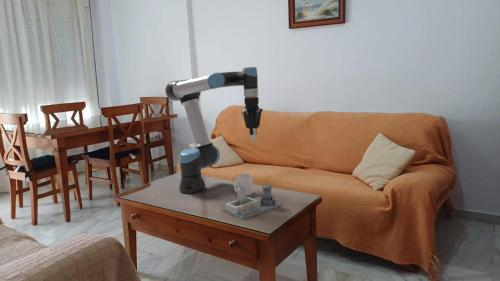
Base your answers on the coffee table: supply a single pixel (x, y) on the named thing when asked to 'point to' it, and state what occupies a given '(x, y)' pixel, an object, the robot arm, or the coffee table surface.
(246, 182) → the mug
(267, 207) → the plate
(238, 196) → the pin
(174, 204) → the coffee table surface
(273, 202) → the ring lever
